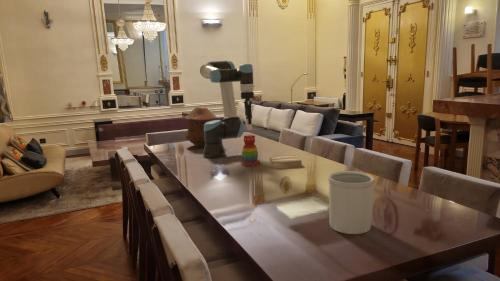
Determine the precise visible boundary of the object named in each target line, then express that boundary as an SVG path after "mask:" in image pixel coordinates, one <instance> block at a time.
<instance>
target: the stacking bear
mask: <svg viewBox="0 0 500 281" xmlns="http://www.w3.org/2000/svg"><path fill="white" fill-rule="evenodd" d="M243 143H244V145H243V147H242V151H241V158H242V161H241V165H242V166H243V167H256V166H258V165H260V164H261V161H260V160H258V158H259V151H258V147H257V145H256V144H255V143H256V136H255V135H254V134H253V135H251V134H249V135H243Z"/></svg>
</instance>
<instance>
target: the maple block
mask: <svg viewBox="0 0 500 281" xmlns="http://www.w3.org/2000/svg"><path fill="white" fill-rule="evenodd" d="M269 163H270V165H271V167H272V169H273V168H274V169H286V168H302V160H301V159H300V157H298V156H297V154H284V155H269Z"/></svg>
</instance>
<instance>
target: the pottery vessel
mask: <svg viewBox="0 0 500 281" xmlns="http://www.w3.org/2000/svg"><path fill="white" fill-rule="evenodd" d="M216 119H217V116H216V114H214V113H213V112H212V111H211V110H210V109H208V107H206V106H199V107H198V106H197V107H194V108H193V109H192V110H191V111H190V113H189V114H187V115H186V116H185V120H187V130H186V132H185V134H184V138H186V140H188V141H189V142H190V143H191V144H193V145H194V146H195V148H204V147H205V137H204V124H205V123H207V122H210V121H214V120H216Z"/></svg>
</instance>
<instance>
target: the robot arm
mask: <svg viewBox="0 0 500 281" xmlns="http://www.w3.org/2000/svg"><path fill="white" fill-rule="evenodd" d="M199 73H200V75H201V76H202V78H204V79H207V80H208V79H210V82H211V83H212V84H213V83H215V84H216V83H219V87H220V94H221V101H222V102H221V103H222V107H223V116H224V118H223V119H222V120H221V119H215V120H214V121H210V122H207V123H205V124H204V137H205V147H203V152H202V155H203V156H202V157H203V158H206V159H207V158H208V159H216V158H222V157H224V156H226V152H227V151H226V150H225V147H224V144H223V140H229V139H237V138H238V139H239V138H242V136H244V129H245V127H246V128H247V130H246V131H253V113H252V112H253V111H252V101H251V99H254V98H255V93H254V88H255V85H254V69H253V64H251V63H242V64H240V65H239V67H238V68H236V66H235V64H234V62H233V61H229V60H220V61H215V60H214V61H208V62H207V61H206V62H205V63H203V64H202V65H201V66H200V69H199ZM233 82H240V84H239V88H240V99H242V100H244V102H243V104H244V115H245V124H244V121H243V120H242V119H240V118H241V117H240V116H239V115H238V114H237V106H236V99H235V92H234V85H233ZM244 126H245V127H244Z"/></svg>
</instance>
